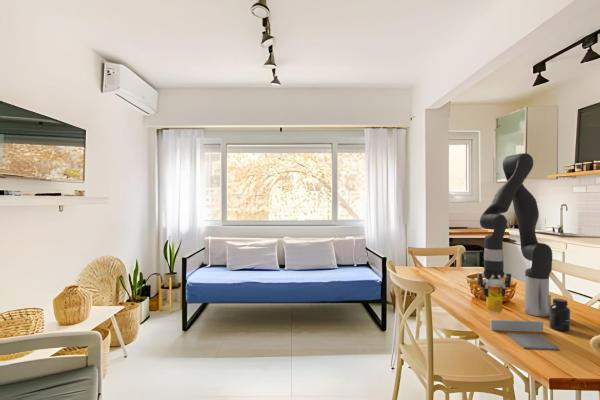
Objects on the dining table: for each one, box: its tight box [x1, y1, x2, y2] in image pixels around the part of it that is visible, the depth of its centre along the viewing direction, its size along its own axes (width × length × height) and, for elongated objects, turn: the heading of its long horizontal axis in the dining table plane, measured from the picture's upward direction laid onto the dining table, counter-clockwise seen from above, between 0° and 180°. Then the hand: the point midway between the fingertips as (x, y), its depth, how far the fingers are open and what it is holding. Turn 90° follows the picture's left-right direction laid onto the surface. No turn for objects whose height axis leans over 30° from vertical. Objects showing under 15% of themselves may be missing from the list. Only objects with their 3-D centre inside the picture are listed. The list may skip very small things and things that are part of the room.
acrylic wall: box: [489, 318, 544, 333], centre depth 139 cm, size 20×1×4 cm, turn 84°
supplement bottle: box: [549, 298, 571, 332], centre depth 142 cm, size 7×7×12 cm
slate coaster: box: [506, 332, 560, 351], centre depth 129 cm, size 12×12×1 cm
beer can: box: [485, 279, 503, 314], centre depth 151 cm, size 6×6×15 cm
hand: (494, 296), depth 151 cm, fingers closed on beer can, 6 cm apart
